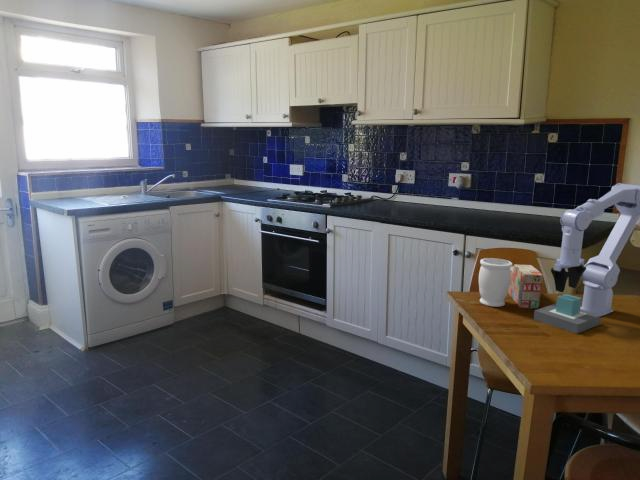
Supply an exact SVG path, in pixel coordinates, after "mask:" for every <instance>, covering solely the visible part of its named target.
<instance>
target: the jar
mask: <svg viewBox="0 0 640 480" xmlns="http://www.w3.org/2000/svg"><path fill="white" fill-rule="evenodd" d="M479 263H480V268H479V273H478V287H479V288H478V290H479V294H480V299H479V302H480V303H481V304H482V305H484V306H488V307H494V308H495V307H497V308H499V307H503V306H505V304H506V301H505V299H506V298H507V295H508V289H509V286H510V281H511V271H510V267H511V266H513V262H511V261H510V260H507V259H503V258H502V259H501V258H496V257H495V258H494V257H485V258H481V259H480V261H479Z"/></svg>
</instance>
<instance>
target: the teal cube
mask: <svg viewBox="0 0 640 480" xmlns="http://www.w3.org/2000/svg"><path fill="white" fill-rule="evenodd" d="M582 300H583V297H578V296H576V295H575V296H574V295H572V294H568V293H564V294H561V295H557V298H556V303H557V305H556V312H559V313H562V314H565V315H568V316H574V315H576V314H579V313H580V307H582Z"/></svg>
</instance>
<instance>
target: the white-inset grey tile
mask: <svg viewBox="0 0 640 480" xmlns="http://www.w3.org/2000/svg"><path fill="white" fill-rule="evenodd" d="M556 305H557V302H555V303H553V304H549V305H547V306H544V307H542V308H541V307H540V308H539V309H535V310H534V311H533V320H535V321H538V322H540V323H544V324H547V325H550V326H552V327H555V328H558V329H561V330H564V331H567V332H571V333H573V334H576V335H578V334H580V333H583V332H584V331H587V330H590V329H591V328H594V327H597V326H599V325H601V320H602V316H601V315H599V314H596V313H592V312H589V311H586V310H582V309H580V313H579V314H576V315H574V316H568V315H565V314H562V313H559V312H556Z"/></svg>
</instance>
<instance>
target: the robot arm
mask: <svg viewBox="0 0 640 480" xmlns="http://www.w3.org/2000/svg"><path fill="white" fill-rule="evenodd" d="M612 206H615V209H616V210H617V211H618V212H619V213H620V215H619V217H618V219H617V221H616V223H615V224H614V226H613V228H612V230H611V231H610V234H609V235H608V237H607V239H606V241H605V242H604V245H603V246H602V249H601V250H600V252H599V254H598V255H595V256H593V257H590V258H589V259H588V261H587V262H586V263H585V258H581V255H582V248H583V239H584V232H585V230H586V229H588V227H589V226H590V224H591V223H592V222H593V220H595V219H597V218H599V217H600V216H602V215H603V214H604V213H605V210H606V209H607V208H609V207H612ZM639 219H640V185H637V184H629V183H628V184H627V183H622V182H619V183H616V184H614V185H613V186H612V187H611V189H610V190H609V191H608V192H607V193H605V194H604V195H603V196H601V197H600V198H598V199H595V198H593V199H592V198H589V199H588V200H586V202H585V203H583V204H581V205H578V206H577V207H576V208H574V209H567V210H566V211H564V212H563V213H562V214H561V217H560V218H559V223H560V225H561V231H562V237H561V238H562V239H561V240H562V241H561V246H560V247H561V248H560V255H559V258H557V259H556V260H555V261H556V263H554V264H553V267H552V268H550V272H551V274H552V277H553V280H554V286H555V291H556V292H559V293H563V292H565V289H566V285H567V283H568V287H569V288H571V289H572V288H573V289H577V286H578V284H579V281H580V279H581V280H582V283H583V284H584V287H583V288H584V289H583V296H582V301H581V306H580V309H582V310H586V311H589V312H592V313H596V314H599V315H601V317H603V316H605V315H608V314H610V313H612V312H614V309H612V304H613V303H612V302H613V296H614V291H613V289H612V288H613V287H614V286H616V284H617V282H618V278H619V274H620V272H621V270H620V267H619V265H618V264H617V260H618V258H619V256H620V255H621V252H622V250H623V249H624V247H625V245H626V244H627V241H628V240H629V238H630V236H631V235H632V232H633V230H634V229H635V227H636V225H637V223H638V221H639ZM584 263H585V264H584ZM567 281H568V282H567Z"/></svg>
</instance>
